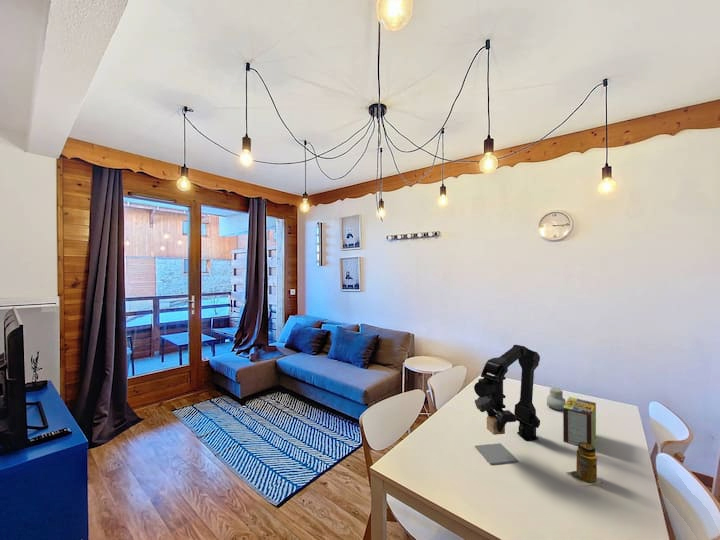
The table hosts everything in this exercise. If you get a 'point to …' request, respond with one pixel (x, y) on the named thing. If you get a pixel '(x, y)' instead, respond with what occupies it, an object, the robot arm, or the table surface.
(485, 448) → the slate pad
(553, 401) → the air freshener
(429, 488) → the table surface
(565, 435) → the protein box
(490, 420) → the walnut cube
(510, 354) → the robot arm
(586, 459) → the condiment
